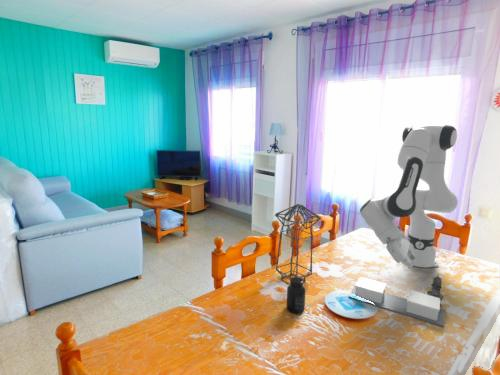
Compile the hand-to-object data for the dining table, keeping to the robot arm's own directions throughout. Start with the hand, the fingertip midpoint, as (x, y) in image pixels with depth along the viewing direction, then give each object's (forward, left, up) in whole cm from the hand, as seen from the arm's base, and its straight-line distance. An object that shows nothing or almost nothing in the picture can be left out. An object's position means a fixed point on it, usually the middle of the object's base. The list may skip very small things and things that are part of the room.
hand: (412, 263), depth 127 cm
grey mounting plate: (+10, -4, -15) cm, 18 cm away
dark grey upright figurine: (0, +9, -15) cm, 17 cm away
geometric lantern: (+15, -45, -15) cm, 49 cm away
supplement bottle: (+36, -35, -15) cm, 52 cm away
